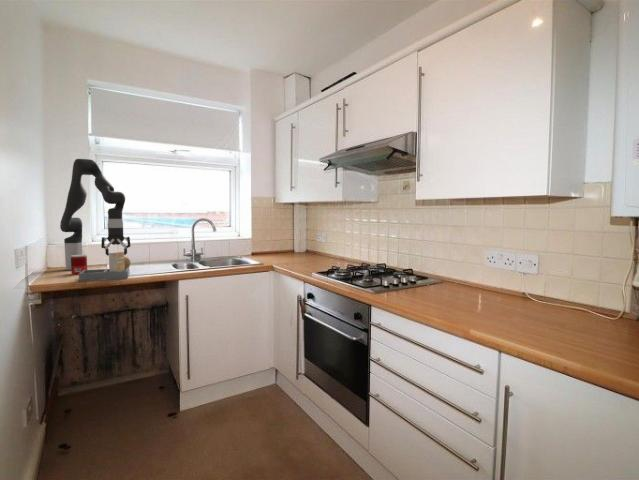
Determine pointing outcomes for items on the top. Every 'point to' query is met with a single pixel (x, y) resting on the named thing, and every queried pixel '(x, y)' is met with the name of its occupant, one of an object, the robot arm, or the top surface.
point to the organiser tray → (102, 274)
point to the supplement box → (116, 262)
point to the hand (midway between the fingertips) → (116, 255)
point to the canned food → (78, 263)
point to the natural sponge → (126, 262)
